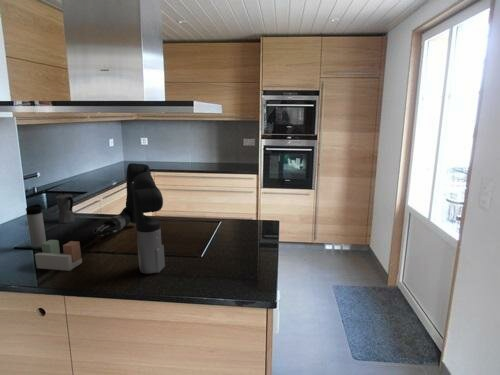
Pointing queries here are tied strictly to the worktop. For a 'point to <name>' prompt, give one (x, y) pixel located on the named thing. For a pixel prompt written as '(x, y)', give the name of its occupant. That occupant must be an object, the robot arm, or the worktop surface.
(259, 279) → the worktop surface
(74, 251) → the terracotta rectangular block
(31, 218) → the travel mug
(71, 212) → the coffeepot
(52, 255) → the console
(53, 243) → the green rectangular block
